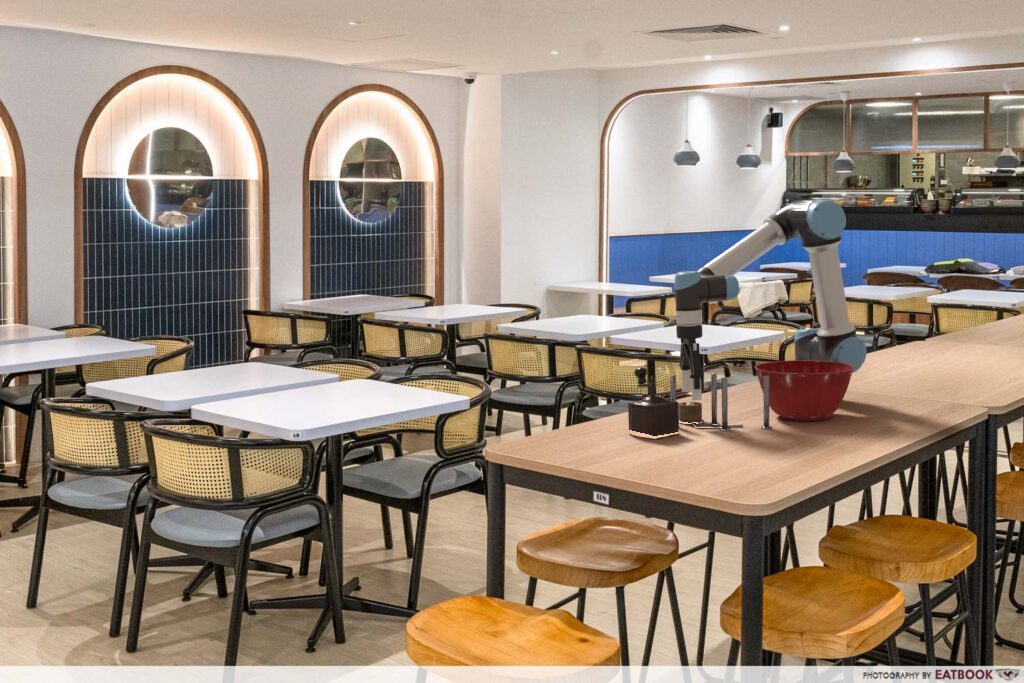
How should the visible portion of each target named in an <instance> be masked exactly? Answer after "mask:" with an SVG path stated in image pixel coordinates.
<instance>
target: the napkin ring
mask: <svg viewBox="0 0 1024 683" xmlns="http://www.w3.org/2000/svg"><path fill="white" fill-rule="evenodd" d="M688 402H689V401H683V402H678V414H679V420H680V421H682V422H688V423H692V422H700V421H702V419H703V405H702V403H701V402H698V401H697V402H696V401H692V402H693V403H694V405H686V403H688Z"/></svg>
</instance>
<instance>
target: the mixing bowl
mask: <svg viewBox="0 0 1024 683" xmlns="http://www.w3.org/2000/svg"><path fill="white" fill-rule="evenodd" d="M754 369H755V371H756V375H757V380H758V382H759V385H760V388H761V391H762V392H763V376H769V408H770V409H771V410H772V411H773V412H774V413H775V414H776V415H778V416H779V417H780V418H781V419H784V420H787V421H789V420H790V421H799V422H800V421H801V422H802V421H803V422H815V421H822V420H825V419H828V417H831V416H832V415H833V414H834V413H835V412H836V411H837V410H838V408H839V407H840V404H841V403H842V401H843V399H844V398H845V395H846V393H847V390H848V388H849V384H850V382H851V378H852V374H853V373H852V370H853V369H854V367H853V366H852V365H849V364H845V363H839V362H830V361H812V360H795V359H794V360H778V361H768V362H767V361H766V362H763V363H758V364H756V365H755V366H754Z"/></svg>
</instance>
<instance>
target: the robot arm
mask: <svg viewBox="0 0 1024 683" xmlns="http://www.w3.org/2000/svg"><path fill="white" fill-rule="evenodd" d="M846 226H847V217H846V214H845V211H844V209H843V208H842V207H841V205H839V204H838V203H837V202H835V201H833V200H829V199H823V198H820V199H819V198H817V199H814V198H813V199H798V200H794V201H792V202H790V203H788V204H786V205H784V206H783V207H781V208H779V209H778V210H777V211H775V212H774V213H773V214H771V215H769V216H768V217H767V218H765V219H764V220H763V225H761V226H759V227H758V228H757V229H755V230H754V231H752V232H750V233H749V234H748V235H747V236H745V237H744V238H741V239H740V240H739V241H738V242H737V243H734V244H733V246H731V247H730V248H728V249H727V250H725V251H724V252H723V253H721V254H720V255H718V256H717V257H715V258H714V259H712V260H711V261H710V262H708V263H707V264H705V265H703V266H702V267H701V268H699V269H698V270H690V271H687V270H686V271H679V272H678V271H677V273H675V276H674V300H675V312H676V313H675V314H673V317H674V318H675V323H676V324H677V325H676V327H675V328H676V332H675V333H676V337H677V339H680V351H679V352H680V353H679V365H678V366H679V368H680V370H681V374H680V375H681V391H682V393H691V401H702V400H703V398H702V377H703V376H704V373H703V367H702V361H701V353H700V344H699V342H697V341H696V339H701V338H702V337H703V325H702V324H701V323H703V309H702V307H703V306H702V304H705V303H713V302H714V303H715V302H728V301H733V300H735V299H737V298H738V296H739V293H740V283H739V281H738V280H739V279H737V277H736V276H735V275H736V274H738V273H739V272H740V271H741V270H743V269H744V268H746V267H747V266H749V265H750V264H752V263H753V262H754V261H756V260H757V259H759V258H760V257H762V256H763V255H765V254H766V253H768V252H769V251H771V249H774V248H775V247H776V246H777V245H778V246H783V245H784V244H786V243H788V242H789V241H791V240H794V239H795V240H796V239H798V238H800V239H801V240H800V241H801V245H802V246H801V247H802V248H803V249H804V250H806V251H807V252H808V257H809V263H810V264H809V265H810V268H811V276H812V282H813V287H814V293H815V298H816V299H815V300H816V306H817V312H818V318H819V325H820V327H819V328H807V329H798V330H797V331H796V332H795V334H794V341H793V343H794V360H812V361H830V362H839V363H845V364H849V365H852V366H853V367H854V369H853V370H852V374H854V373H855V372H858V371H859V370H860V368H862V366H863V364H864V363H865V361H866V358H867V347H866V344H865V343H864V341H863V340H862V339H861V338H859V337H858V336H857V329H856V327H855V325H853V323H851V322H850V318H849V312H848V306H847V300H846V299H847V298H846V292H845V287H844V280H843V274H842V269H841V262H840V256H839V250H838V247H839V244H840V243H842V234H843V232H844V229H846Z"/></svg>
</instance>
